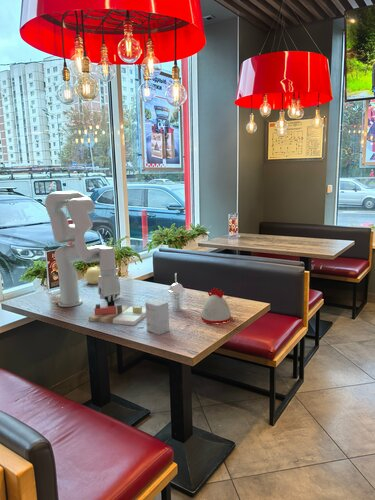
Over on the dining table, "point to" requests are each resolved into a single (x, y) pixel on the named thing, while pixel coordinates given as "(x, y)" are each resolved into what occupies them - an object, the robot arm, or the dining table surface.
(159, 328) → the small box
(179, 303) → the cup with straw
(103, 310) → the swing bar
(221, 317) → the kitchen timer
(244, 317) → the dining table surface
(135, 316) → the door
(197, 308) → the dining table surface
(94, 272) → the pale yellow ball
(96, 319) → the tan wavy block
